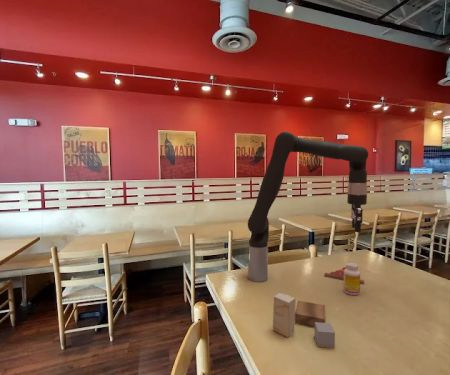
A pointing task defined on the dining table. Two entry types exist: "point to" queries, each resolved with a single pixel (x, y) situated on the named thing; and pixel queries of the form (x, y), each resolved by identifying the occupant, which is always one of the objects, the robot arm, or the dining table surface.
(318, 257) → the dining table surface
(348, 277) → the supplement bottle
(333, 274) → the pepperoni pizza slice
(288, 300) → the skincare box
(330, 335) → the grey cube
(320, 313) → the walnut block
